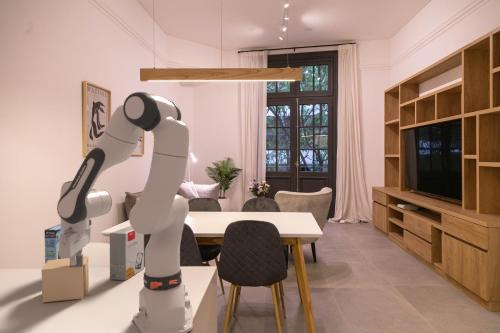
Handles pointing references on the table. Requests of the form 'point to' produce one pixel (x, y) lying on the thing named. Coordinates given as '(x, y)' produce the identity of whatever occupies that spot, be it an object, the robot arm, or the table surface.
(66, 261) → the carton
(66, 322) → the table surface
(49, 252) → the gum box
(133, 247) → the hard drive box
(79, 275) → the front flap
